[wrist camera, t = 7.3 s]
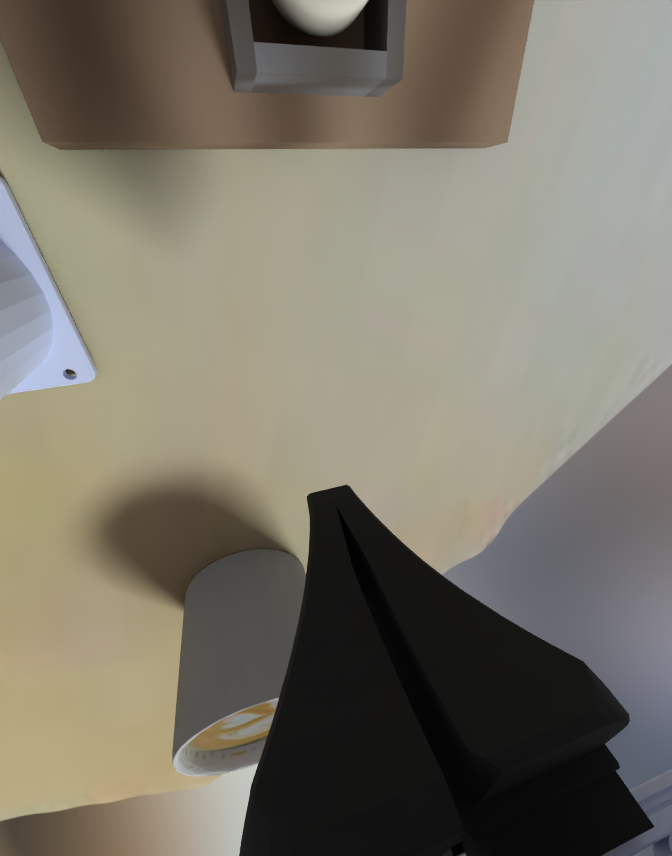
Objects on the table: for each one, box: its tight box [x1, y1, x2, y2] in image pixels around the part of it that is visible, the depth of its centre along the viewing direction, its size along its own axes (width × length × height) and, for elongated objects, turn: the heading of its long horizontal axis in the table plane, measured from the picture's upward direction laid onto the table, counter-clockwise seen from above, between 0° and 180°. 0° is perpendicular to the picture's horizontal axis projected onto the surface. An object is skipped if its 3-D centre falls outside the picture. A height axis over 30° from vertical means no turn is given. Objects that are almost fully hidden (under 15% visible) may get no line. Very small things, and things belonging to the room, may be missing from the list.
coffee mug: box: [172, 549, 306, 776], centre depth 25 cm, size 13×10×10 cm
